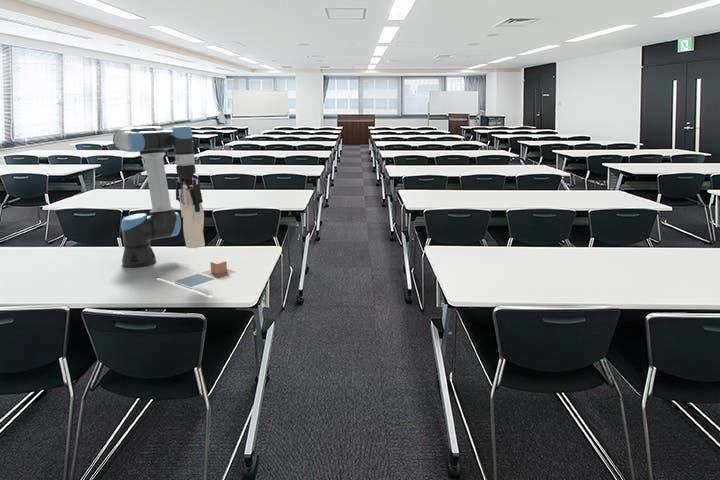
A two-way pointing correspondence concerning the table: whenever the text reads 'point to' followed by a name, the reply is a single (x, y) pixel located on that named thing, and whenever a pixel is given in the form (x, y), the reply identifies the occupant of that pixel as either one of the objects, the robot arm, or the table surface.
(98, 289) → the table surface
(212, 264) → the terracotta block
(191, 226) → the water bottle
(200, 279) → the slate mat
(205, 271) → the walnut mat
